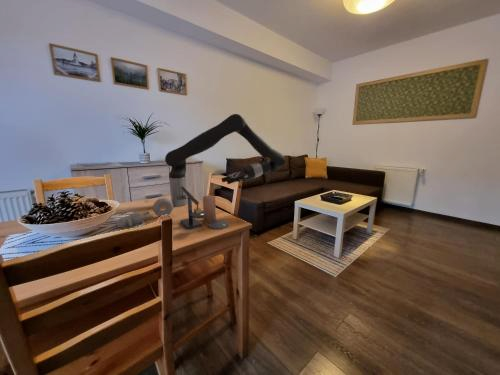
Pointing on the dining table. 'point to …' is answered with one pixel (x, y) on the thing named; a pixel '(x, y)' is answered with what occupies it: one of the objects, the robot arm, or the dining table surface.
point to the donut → (160, 202)
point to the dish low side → (218, 224)
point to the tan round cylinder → (209, 208)
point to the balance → (197, 212)
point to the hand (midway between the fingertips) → (224, 181)
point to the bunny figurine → (132, 219)
